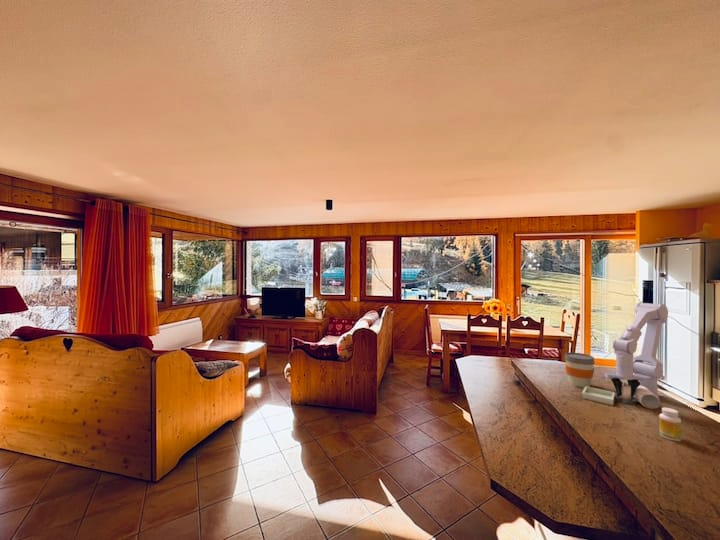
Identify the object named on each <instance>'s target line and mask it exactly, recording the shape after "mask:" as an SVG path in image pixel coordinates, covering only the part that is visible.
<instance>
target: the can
mask: <svg viewBox="0 0 720 540" xmlns="http://www.w3.org/2000/svg"><path fill="white" fill-rule="evenodd" d="M633 397H635V398H636V399H637V400H638V403H640V404H641V406H643V407H645V408H646V409H649V408H650V409H649V410H654V409H657V408H659V407H660V405H661V401H660V397H659V398H658V397H657V396H655V395H654V394H653V393H652V392H651V391H650V390H648V389H647V388H646V387H644V386H641V385H639V386H638V388H637V389H636V391H635V393H634V396H633Z"/></svg>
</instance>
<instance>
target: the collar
mask: <svg viewBox="0 0 720 540" xmlns="http://www.w3.org/2000/svg"><path fill="white" fill-rule="evenodd" d="M614 401H615V402H618V403H620V404H621V403H622V404H625V405H631V406H636V405H638V404H639V401H638V400H637V399H636V398H635V397H634V396H633V397H631V400H626V399H622V398H619V395H618V394H617V392H615V400H614Z"/></svg>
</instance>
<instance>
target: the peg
mask: <svg viewBox="0 0 720 540" xmlns="http://www.w3.org/2000/svg"><path fill="white" fill-rule="evenodd" d="M621 390H622V394H621V396H619V398H622V399H626V400H631V386H630V385H628V382H623V384H622V389H621Z"/></svg>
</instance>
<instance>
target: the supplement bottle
mask: <svg viewBox="0 0 720 540" xmlns="http://www.w3.org/2000/svg"><path fill="white" fill-rule="evenodd" d="M661 412H662V413H660V414H659V415H658V417H659V422H658V423H659V427H658V428H659V429H658V432H659V435H660V436H661V437H663V438H664V439H667V440H670V441H674V442H681V441H682V438H683V437H682V419H681V418H680V417H679V411H678V410H676V409H674V408H672V407H671V408H669V407H661Z"/></svg>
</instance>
